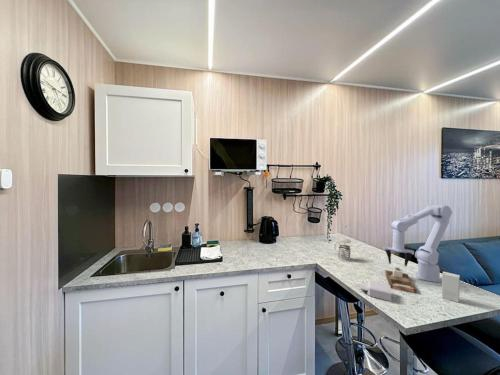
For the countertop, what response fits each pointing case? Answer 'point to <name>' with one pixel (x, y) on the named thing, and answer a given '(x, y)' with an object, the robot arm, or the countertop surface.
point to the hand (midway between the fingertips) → (397, 264)
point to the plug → (397, 272)
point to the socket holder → (400, 282)
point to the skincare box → (450, 286)
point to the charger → (377, 290)
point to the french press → (342, 256)
